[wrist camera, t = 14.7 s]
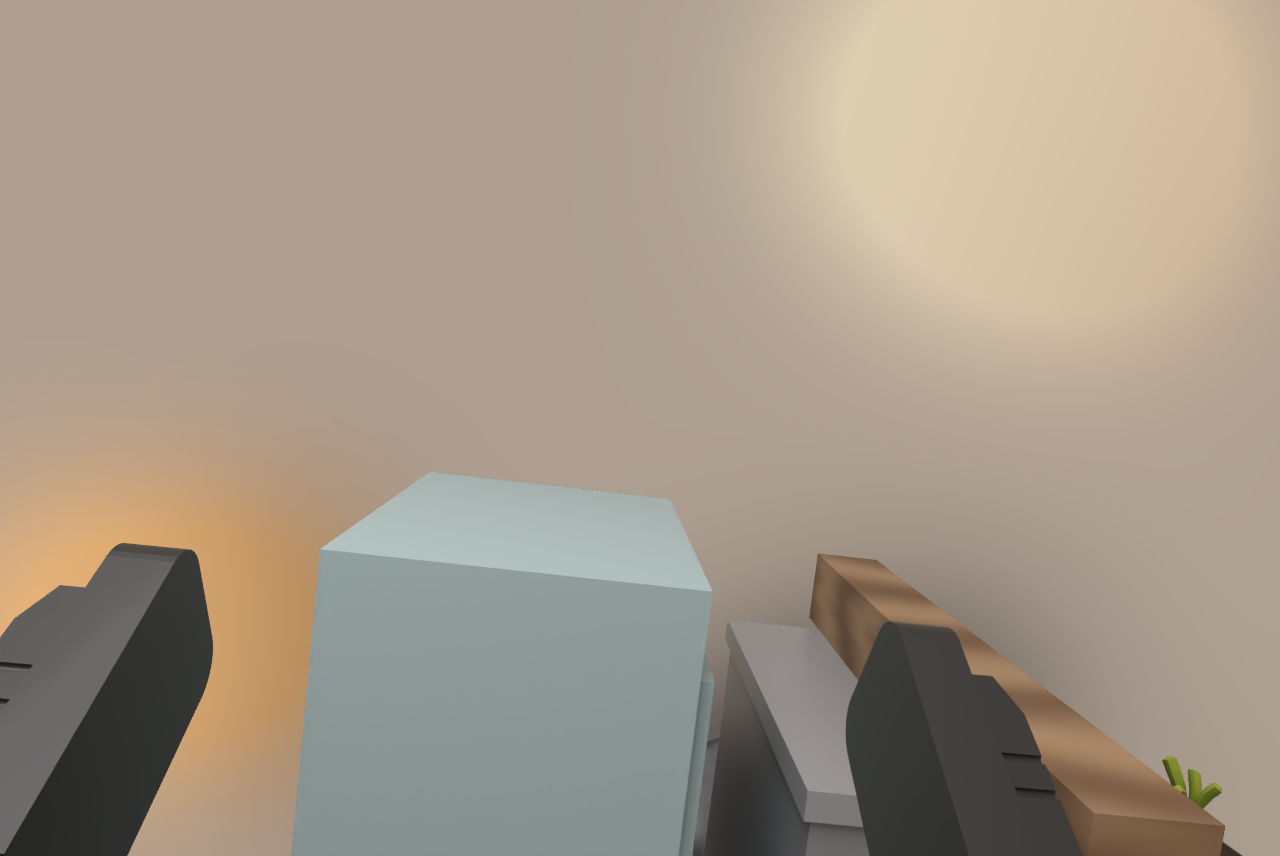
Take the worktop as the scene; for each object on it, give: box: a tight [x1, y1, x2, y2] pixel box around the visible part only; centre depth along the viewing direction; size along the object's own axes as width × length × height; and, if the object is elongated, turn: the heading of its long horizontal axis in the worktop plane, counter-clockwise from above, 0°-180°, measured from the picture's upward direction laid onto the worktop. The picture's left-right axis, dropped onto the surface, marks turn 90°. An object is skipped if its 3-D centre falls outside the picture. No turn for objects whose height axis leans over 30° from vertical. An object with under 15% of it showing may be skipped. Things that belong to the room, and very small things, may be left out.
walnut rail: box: [809, 554, 1225, 856], centre depth 36 cm, size 28×3×4 cm, turn 2°
